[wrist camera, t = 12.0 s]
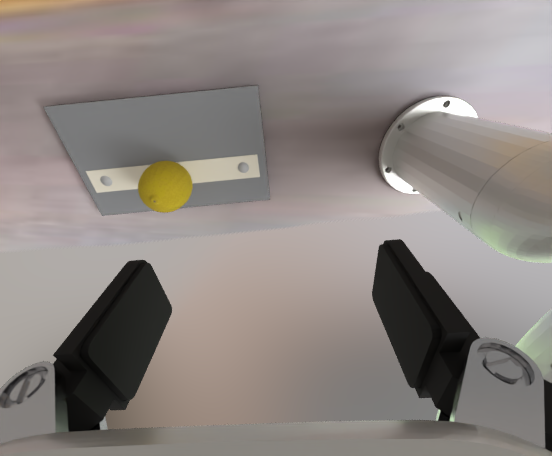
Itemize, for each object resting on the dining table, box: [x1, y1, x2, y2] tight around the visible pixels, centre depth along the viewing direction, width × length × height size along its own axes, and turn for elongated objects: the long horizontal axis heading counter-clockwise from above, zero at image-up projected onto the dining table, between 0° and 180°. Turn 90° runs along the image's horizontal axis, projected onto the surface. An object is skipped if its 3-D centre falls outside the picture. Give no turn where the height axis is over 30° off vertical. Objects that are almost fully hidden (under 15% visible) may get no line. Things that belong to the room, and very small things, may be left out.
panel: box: [44, 85, 270, 216], centre depth 32 cm, size 24×14×2 cm, turn 95°
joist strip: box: [86, 154, 260, 193], centre depth 32 cm, size 22×3×1 cm, turn 95°
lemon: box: [138, 161, 193, 212], centre depth 29 cm, size 6×6×8 cm
